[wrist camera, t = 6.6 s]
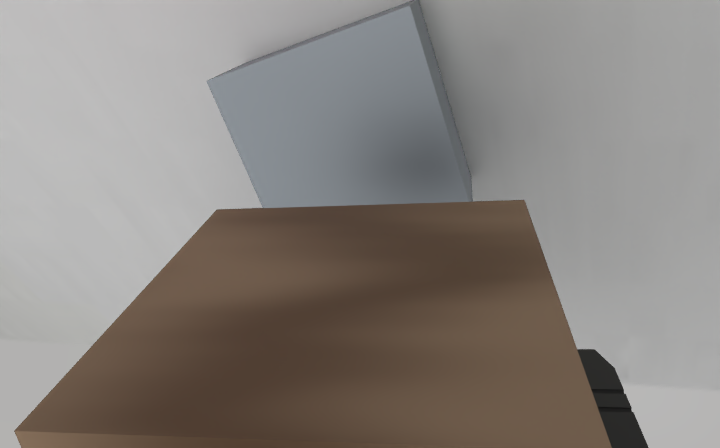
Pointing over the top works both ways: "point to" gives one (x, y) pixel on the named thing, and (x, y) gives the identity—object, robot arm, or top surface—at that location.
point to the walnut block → (336, 339)
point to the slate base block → (348, 118)
